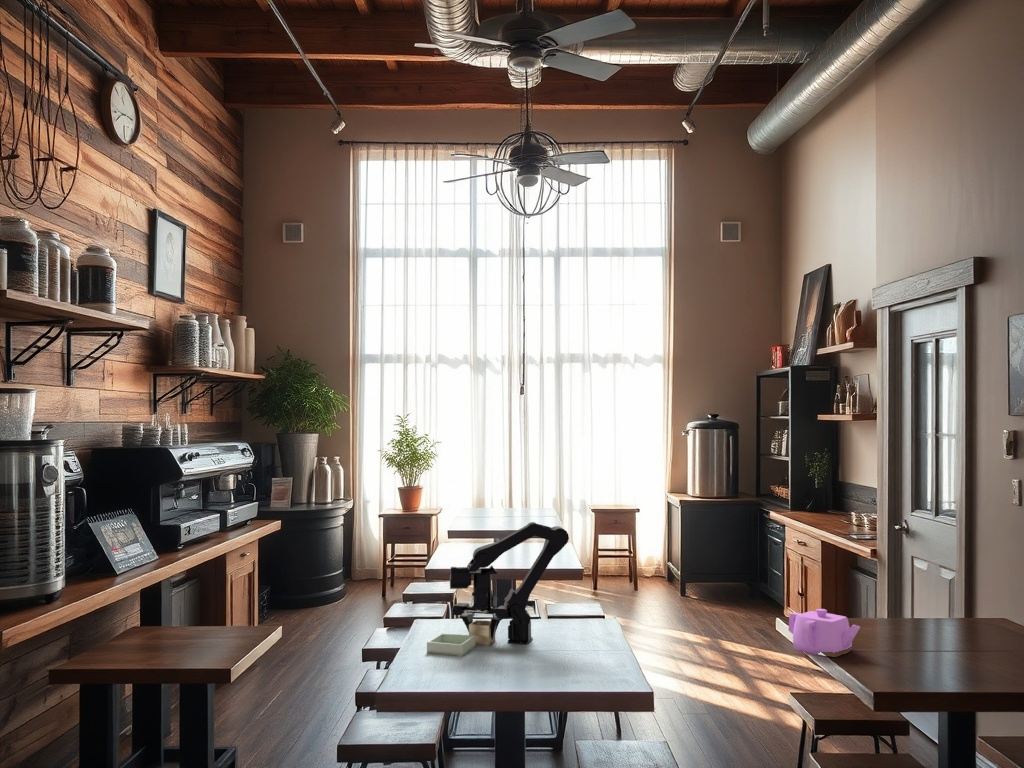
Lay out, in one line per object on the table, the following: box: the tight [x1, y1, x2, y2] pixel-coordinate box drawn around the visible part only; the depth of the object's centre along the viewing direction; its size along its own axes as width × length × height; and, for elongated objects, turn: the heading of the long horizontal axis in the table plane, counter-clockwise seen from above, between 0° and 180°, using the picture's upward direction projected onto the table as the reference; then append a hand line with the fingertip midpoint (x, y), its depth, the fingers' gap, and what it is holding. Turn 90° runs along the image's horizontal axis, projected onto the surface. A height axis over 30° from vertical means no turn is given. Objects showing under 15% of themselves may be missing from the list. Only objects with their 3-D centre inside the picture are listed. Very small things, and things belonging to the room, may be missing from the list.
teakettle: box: [788, 608, 861, 656], centre depth 247 cm, size 17×17×12 cm
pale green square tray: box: [426, 633, 476, 657], centre depth 249 cm, size 11×11×3 cm
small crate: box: [468, 619, 496, 647], centre depth 257 cm, size 6×6×6 cm
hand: (482, 638), depth 257 cm, fingers closed on small crate, 6 cm apart
